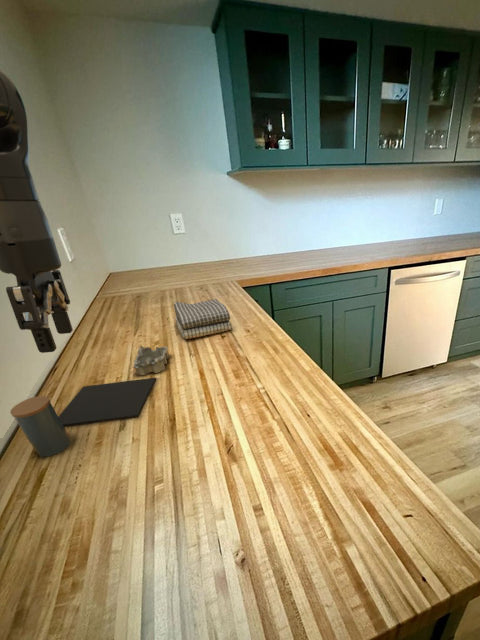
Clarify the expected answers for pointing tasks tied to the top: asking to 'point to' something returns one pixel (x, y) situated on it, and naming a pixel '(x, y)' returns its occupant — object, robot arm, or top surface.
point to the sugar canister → (41, 425)
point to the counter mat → (107, 402)
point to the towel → (201, 318)
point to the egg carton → (150, 360)
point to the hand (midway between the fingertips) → (57, 341)
